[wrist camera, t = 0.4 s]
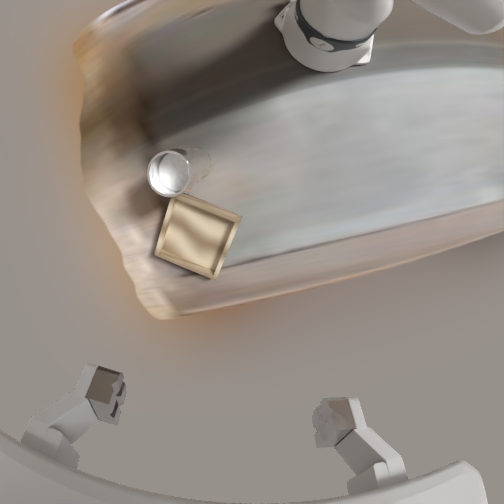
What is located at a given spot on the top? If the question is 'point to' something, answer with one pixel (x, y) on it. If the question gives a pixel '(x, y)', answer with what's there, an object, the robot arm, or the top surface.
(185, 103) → the top surface
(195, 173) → the beer glass
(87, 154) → the top surface
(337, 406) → the robot arm
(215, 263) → the oak tray
